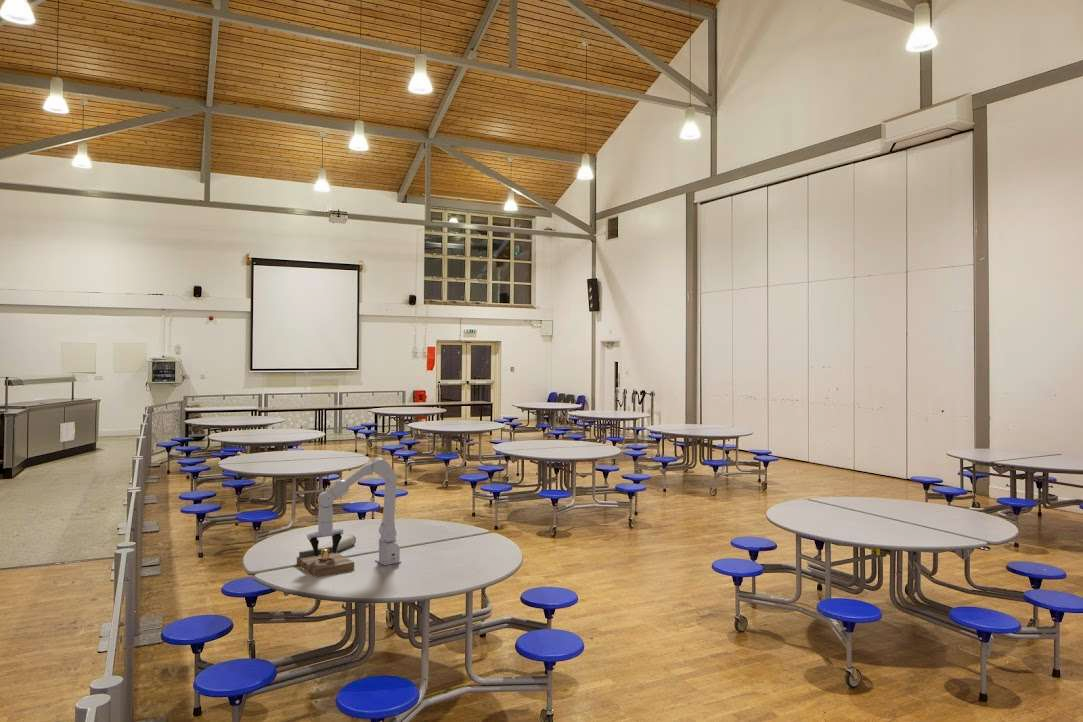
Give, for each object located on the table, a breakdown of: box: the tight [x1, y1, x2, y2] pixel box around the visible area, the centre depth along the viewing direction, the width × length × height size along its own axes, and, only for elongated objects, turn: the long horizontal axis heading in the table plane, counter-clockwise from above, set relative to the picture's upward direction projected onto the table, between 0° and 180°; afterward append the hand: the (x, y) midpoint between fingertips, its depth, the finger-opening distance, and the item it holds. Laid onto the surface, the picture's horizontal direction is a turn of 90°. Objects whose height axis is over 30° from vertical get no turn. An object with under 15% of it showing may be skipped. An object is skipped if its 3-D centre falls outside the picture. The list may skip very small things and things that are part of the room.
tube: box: [318, 533, 357, 553], centre depth 299 cm, size 5×5×25 cm
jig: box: [296, 547, 355, 577], centre depth 276 cm, size 22×16×5 cm
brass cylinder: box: [321, 549, 329, 562], centre depth 276 cm, size 3×3×7 cm
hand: (325, 554), depth 276 cm, fingers open, 7 cm apart
